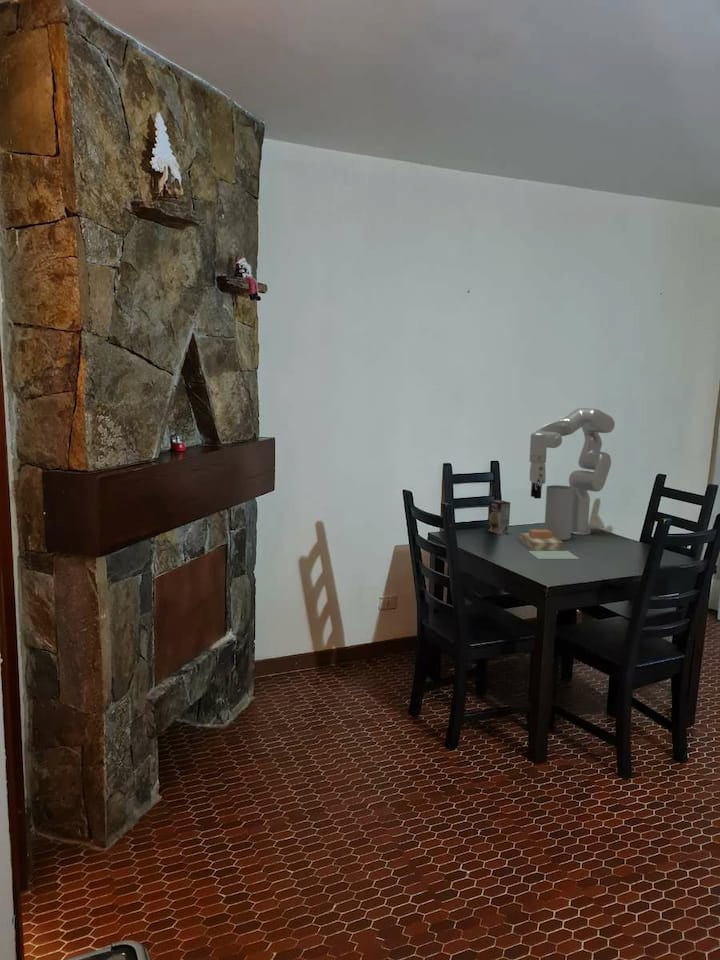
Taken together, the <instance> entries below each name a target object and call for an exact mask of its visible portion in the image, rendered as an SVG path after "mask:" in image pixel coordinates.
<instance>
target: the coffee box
mask: <svg viewBox="0 0 720 960" xmlns="http://www.w3.org/2000/svg"><path fill="white" fill-rule="evenodd" d="M488 507H489V508H488V509H489V510H488V526H487V528H488V529H487V530H488V532H489V531H491V532H490V533H492V532H494V533H493V534H495V533H497V534H496V535H499V534H502V535H505V534H504V533H510V515H511V502H510V501H505V500H501V499H490V500H489V506H488Z"/></svg>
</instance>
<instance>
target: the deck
mask: <svg viewBox="0 0 720 960" xmlns="http://www.w3.org/2000/svg"><path fill="white" fill-rule="evenodd" d="M519 542H520V543H521V544H522V545H523V546H525V547H526V548H527V549H529V551H564V542H563V540H559V539H557V538H556V537H554V536H553V535H552V539H533V538H531V537H530V536H529V532H519Z"/></svg>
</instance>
